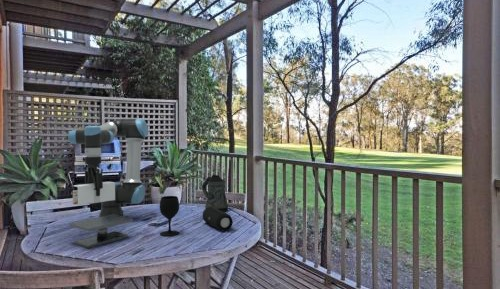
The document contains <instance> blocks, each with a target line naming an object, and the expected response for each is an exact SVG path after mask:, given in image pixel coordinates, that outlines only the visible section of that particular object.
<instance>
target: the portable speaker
mask: <svg viewBox="0 0 500 289" xmlns="http://www.w3.org/2000/svg"><path fill="white" fill-rule="evenodd" d="M202 219H203V221H204V222H205V223H207V224H209V225H210V226H212V227H214V228H216V229H218V230H219V231H220V232H225V231H228V230H230V229H231V228H232V227H233V224H234V223H233V222H234V221H233V218H232V216H231V214H229V213H227V212H223V211H220V210H218V209H216V208H214V207H208V208H206V209H205V208H204V210H203V211H202Z"/></svg>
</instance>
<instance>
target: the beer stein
mask: <svg viewBox="0 0 500 289" xmlns="http://www.w3.org/2000/svg"><path fill="white" fill-rule="evenodd" d="M225 184H226V181H225V180H224V179H223V178H222V177H220V175H217V174H214V175H213V174H212V175H211V176H208V177H206V179H205V180H204V181H203V182H202V185H201V191H202V192H203V193H202V194H203V195H204V196H205V198H206V203H205V205H204V210H205V209H206V208H208V207H214V208H216V209H218V210H220V211H223V212H225V213H227V212H228V211H229V203H228V200H227V197H226V189H225ZM207 186H208V189H207Z"/></svg>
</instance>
